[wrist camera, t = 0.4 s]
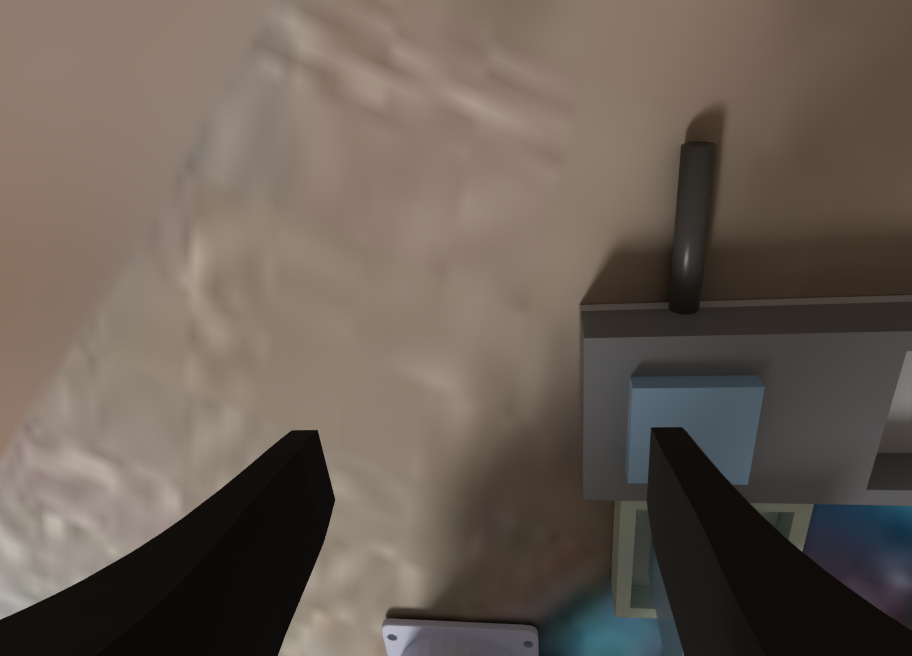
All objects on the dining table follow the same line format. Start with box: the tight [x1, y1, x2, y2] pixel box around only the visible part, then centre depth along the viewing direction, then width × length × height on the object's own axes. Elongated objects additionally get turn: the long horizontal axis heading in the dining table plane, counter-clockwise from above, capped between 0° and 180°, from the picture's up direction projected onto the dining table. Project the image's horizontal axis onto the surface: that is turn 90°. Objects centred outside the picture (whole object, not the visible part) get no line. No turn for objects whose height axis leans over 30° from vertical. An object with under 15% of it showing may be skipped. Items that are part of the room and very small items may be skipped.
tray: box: [611, 501, 814, 618], centre depth 25 cm, size 7×7×2 cm
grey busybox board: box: [579, 142, 912, 506], centre depth 20 cm, size 12×16×3 cm
